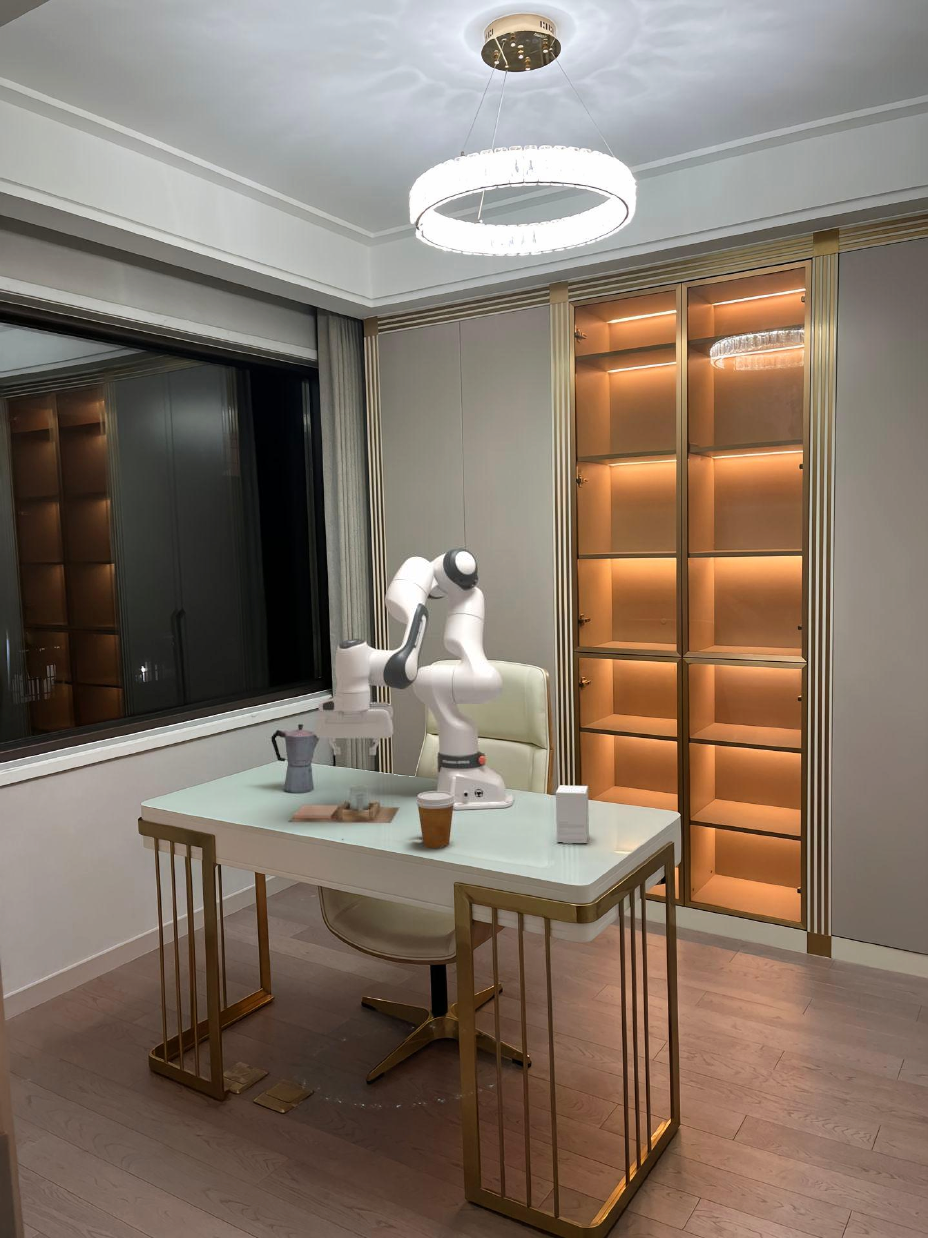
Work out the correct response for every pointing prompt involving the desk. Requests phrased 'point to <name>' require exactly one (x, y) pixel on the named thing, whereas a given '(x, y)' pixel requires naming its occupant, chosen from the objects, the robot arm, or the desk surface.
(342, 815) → the walnut board
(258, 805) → the desk surface
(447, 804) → the disposable coffee cup
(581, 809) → the supplement box
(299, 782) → the moka pot
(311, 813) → the terracotta coaster
